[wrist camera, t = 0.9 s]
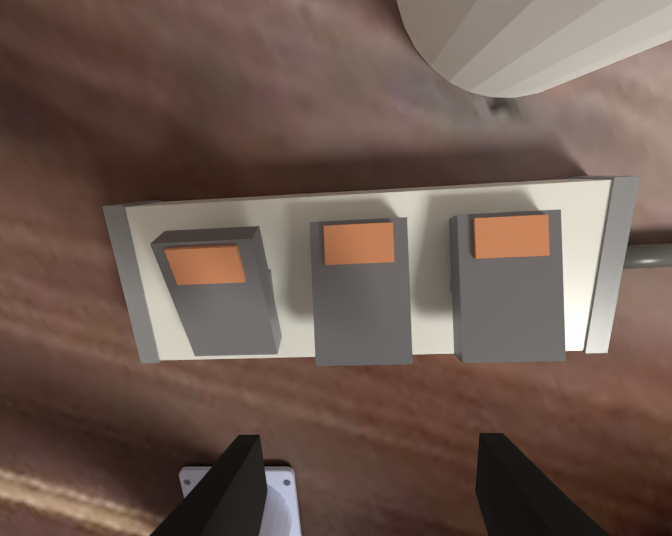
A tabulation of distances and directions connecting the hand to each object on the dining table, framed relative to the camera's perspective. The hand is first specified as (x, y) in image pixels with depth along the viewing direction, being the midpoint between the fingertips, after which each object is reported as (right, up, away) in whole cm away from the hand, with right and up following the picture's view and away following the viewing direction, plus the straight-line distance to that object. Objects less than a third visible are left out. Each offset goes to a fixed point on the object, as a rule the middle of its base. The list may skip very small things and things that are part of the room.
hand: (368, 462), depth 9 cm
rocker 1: (-6, +4, +5) cm, 9 cm away
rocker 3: (+6, +5, +4) cm, 9 cm away
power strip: (+3, +6, +9) cm, 11 cm away
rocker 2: (0, +4, +5) cm, 7 cm away
